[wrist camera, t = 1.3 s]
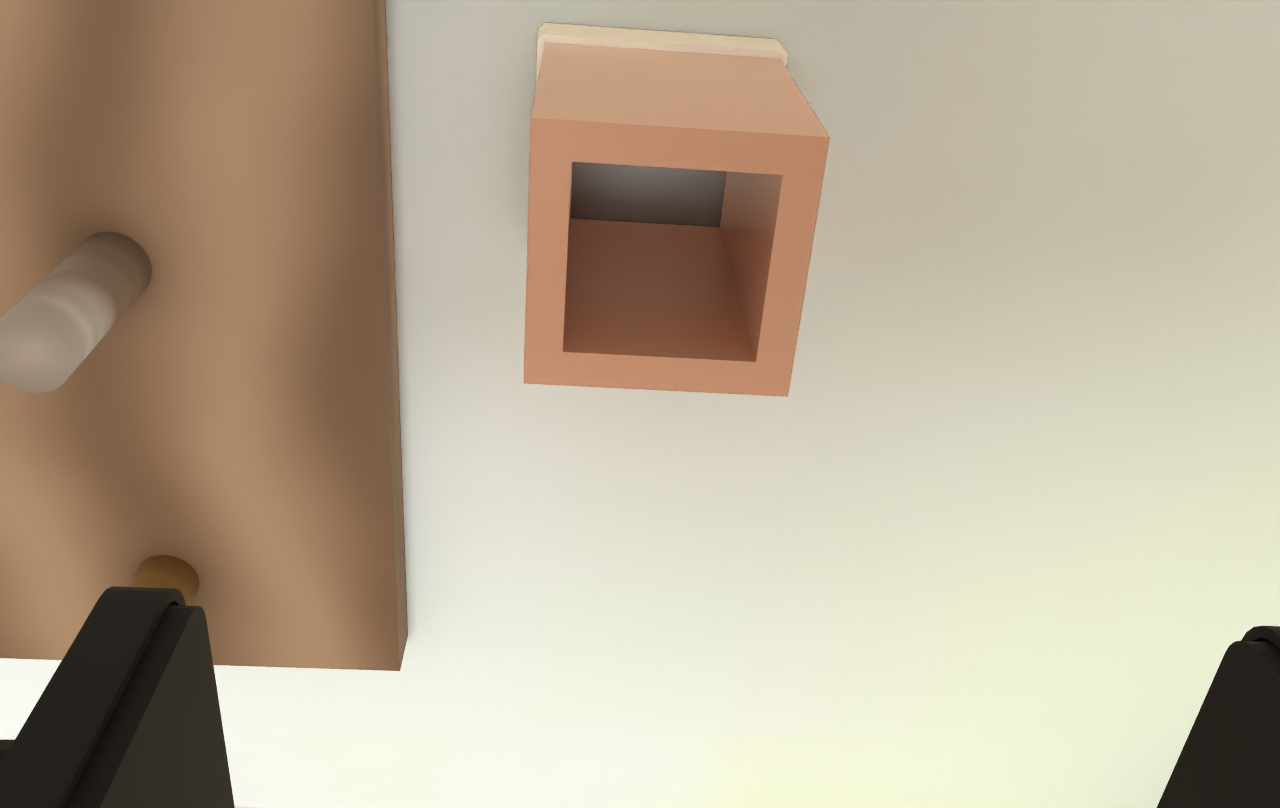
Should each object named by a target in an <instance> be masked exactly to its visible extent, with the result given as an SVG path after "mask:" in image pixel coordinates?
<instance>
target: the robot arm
mask: <svg viewBox="0 0 1280 808" xmlns="http://www.w3.org/2000/svg"><path fill="white" fill-rule="evenodd" d="M0 808H234V801H233V794H232V788H231V781H230V774H229V768H228V761H227V754H226V747H225V741H224V734H223V727H222V721H221V714H220V707H219V701H218V694H217V687H216V680H215V674H214V667H213V660H212V654H211V647H210V640H209V634H208V627H207V620H206V616H205V612H204V610H203V608H202V607H200V606H186V604H185V600H184V596H183V594H182V593H181V591H180V590H178V589H175V588H147V587H118V586H111V587H109V588H108V589H106V590H105V591H104V592H103V593H102V595H101V596H100V597H99V599H98V601H97V602H96V604H95V606H94V607H93V609H92V611H91V612H90V614H89V616H88V617H87V619H86V621H85V623H84V624H83V626H82V628H81V629H80V631H79V633H78V634H77V636H76V638H75V639H74V641H73V643H72V645H71V646H70V648H69V650H68V651H67V653H66V655H65V656H64V658H63V660H62V661H61V663H60V665H59V667H58V668H57V670H56V672H55V673H54V675H53V677H52V678H51V680H50V682H49V683H48V685H47V687H46V688H45V690H44V692H43V694H42V695H41V697H40V699H39V700H38V702H37V704H36V705H35V707H34V709H33V710H32V712H31V714H30V716H29V717H28V719H27V721H26V722H25V724H24V726H23V727H22V729H21V731H20V732H19V734H18V736H17V738H16V739H15V740H0ZM1157 808H1280V626H1258V627H1253V628H1252V629H1251V630H1249V631H1248V632H1246V634H1245V636H1244V637H1243V639H1242V640H1241V641H1236V642H1234V643H1233V644H1231V645H1230V646H1229V648H1228V649H1227V651H1226V652H1225V655H1224V657H1223V659H1222V661H1221V664H1220V666H1219V668H1218V670H1217V673H1216V675H1215V677H1214V679H1213V682H1212V684H1211V686H1210V688H1209V691H1208V693H1207V695H1206V698H1205V700H1204V702H1203V704H1202V707H1201V709H1200V711H1199V713H1198V716H1197V718H1196V720H1195V722H1194V725H1193V727H1192V729H1191V731H1190V734H1189V736H1188V738H1187V741H1186V743H1185V745H1184V747H1183V750H1182V752H1181V754H1180V756H1179V759H1178V761H1177V763H1176V765H1175V768H1174V770H1173V772H1172V775H1171V777H1170V779H1169V781H1168V784H1167V786H1166V788H1165V790H1164V793H1163V795H1162V797H1161V799H1160V802H1159V804H1158V806H1157Z"/></svg>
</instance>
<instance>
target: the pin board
mask: <svg viewBox="0 0 1280 808" xmlns="http://www.w3.org/2000/svg"><path fill="white" fill-rule="evenodd" d="M111 586H118V587H147V588H175V589H178V590H180V591H181V593H182V594H183V596H184V600H185V604H186V606H200V607H202V608H203V610H204V612H205V616H206V620H207V627H208V634H209V640H210V647H211V654H212V660H213V665H234V666H265V667H296V668H327V669H358V670H389V671H400V668H401V664H402V659H403V654H404V650H405V645H406V641H407V636H408V629H407V601H406V573H405V545H404V517H403V489H402V461H401V433H400V406H399V378H398V350H397V322H396V294H395V266H394V238H393V210H392V182H391V154H390V126H389V98H388V71H387V43H386V15H385V0H0V658H17V659H48V660H63V658H64V656H65V655H66V653H67V651H68V650H69V648H70V646H71V645H72V643H73V641H74V639H75V638H76V636H77V634H78V633H79V631H80V629H81V628H82V626H83V624H84V623H85V621H86V619H87V617H88V616H89V614H90V612H91V611H92V609H93V607H94V606H95V604H96V602H97V601H98V599H99V597H100V596H101V595H102V593H103V592H104V591H105V590H106V589H108V588H109V587H111Z"/></svg>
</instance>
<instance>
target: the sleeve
mask: <svg viewBox="0 0 1280 808" xmlns="http://www.w3.org/2000/svg"><path fill="white" fill-rule="evenodd" d="M787 60H788V54H787V53H786V51H785V50H784V48H783V47H782V45H781V44H780V43H779V41H778V40H777V39H768V38H754V37H740V36H725V35H711V34H697V33H683V32H669V31H655V30H641V29H627V28H613V27H599V26H585V25H571V24H557V23H544V24H543V26H540V28H539V33H538V37H537V70H536V93H535V98H534V104H533V109H532V114H531V132H530V168H529V205H528V242H527V278H526V315H525V352H524V383H527V384H547V385H568V386H588V387H608V388H628V389H648V390H668V391H688V392H708V393H729V394H749V395H769V396H788V392H789V386H790V380H791V374H792V367H793V361H794V355H795V349H796V343H797V337H798V330H799V324H800V318H801V312H802V306H803V299H804V293H805V287H806V281H807V275H808V269H809V262H810V256H811V250H812V244H813V238H814V231H815V225H816V219H817V213H818V207H819V200H820V194H821V188H822V182H823V176H824V170H825V163H826V157H827V151H828V145H829V139H830V137H829V135H828V134H827V132H826V130H825V129H824V127H823V126H822V124H821V123H820V121H819V119H818V118H817V116H816V115H815V113H814V111H813V110H812V108H811V107H810V105H809V103H808V102H807V100H806V99H805V97H804V96H803V94H802V92H801V91H800V89H799V88H798V86H797V84H796V83H795V81H794V80H793V78H792V76H791V75H790V73H789V72H788V70H787V69H786V68H787ZM573 162H585V163H601V164H617V165H632V166H648V167H664V168H680V169H696V170H712V171H726V179H725V188H724V197H723V205H722V214H721V222H720V227H708V226H691V225H674V224H657V223H641V222H624V221H607V220H590V219H574V218H570V215H571V194H572V173H573Z"/></svg>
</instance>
